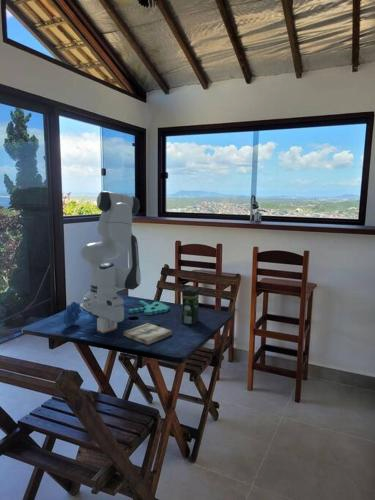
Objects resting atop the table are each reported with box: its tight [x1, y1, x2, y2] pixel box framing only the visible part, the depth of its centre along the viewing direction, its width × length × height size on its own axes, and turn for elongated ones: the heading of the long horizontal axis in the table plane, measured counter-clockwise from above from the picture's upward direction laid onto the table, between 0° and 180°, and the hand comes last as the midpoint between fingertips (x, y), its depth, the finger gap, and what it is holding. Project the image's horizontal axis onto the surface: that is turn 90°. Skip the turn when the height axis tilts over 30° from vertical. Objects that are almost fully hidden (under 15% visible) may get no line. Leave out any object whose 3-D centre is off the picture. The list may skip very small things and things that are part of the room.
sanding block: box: [96, 317, 118, 334], centre depth 167 cm, size 4×8×6 cm, turn 141°
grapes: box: [62, 301, 82, 328], centre depth 178 cm, size 12×7×12 cm, turn 153°
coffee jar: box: [181, 285, 200, 325], centre depth 187 cm, size 10×8×19 cm
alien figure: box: [128, 300, 170, 316], centre depth 208 cm, size 20×2×20 cm
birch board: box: [122, 322, 173, 345], centre depth 168 cm, size 16×16×2 cm
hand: (106, 326), depth 168 cm, fingers closed on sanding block, 4 cm apart
